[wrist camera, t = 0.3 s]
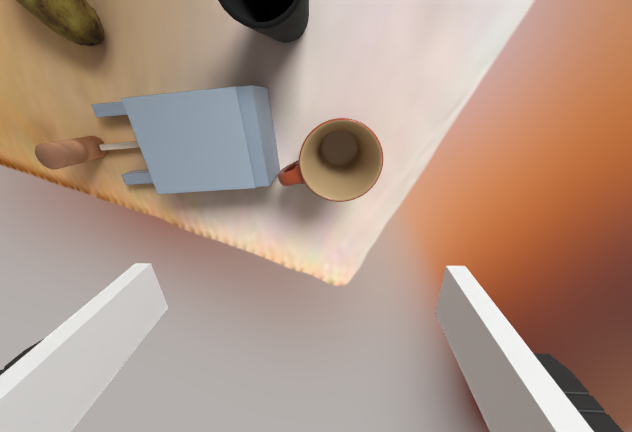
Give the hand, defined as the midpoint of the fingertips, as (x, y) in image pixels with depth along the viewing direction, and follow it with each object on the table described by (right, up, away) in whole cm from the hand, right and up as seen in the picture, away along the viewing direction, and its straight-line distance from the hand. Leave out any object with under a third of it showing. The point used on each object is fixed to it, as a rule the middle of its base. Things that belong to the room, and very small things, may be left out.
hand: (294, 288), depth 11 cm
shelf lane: (-17, +14, +25) cm, 34 cm away
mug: (+3, +13, +24) cm, 28 cm away
